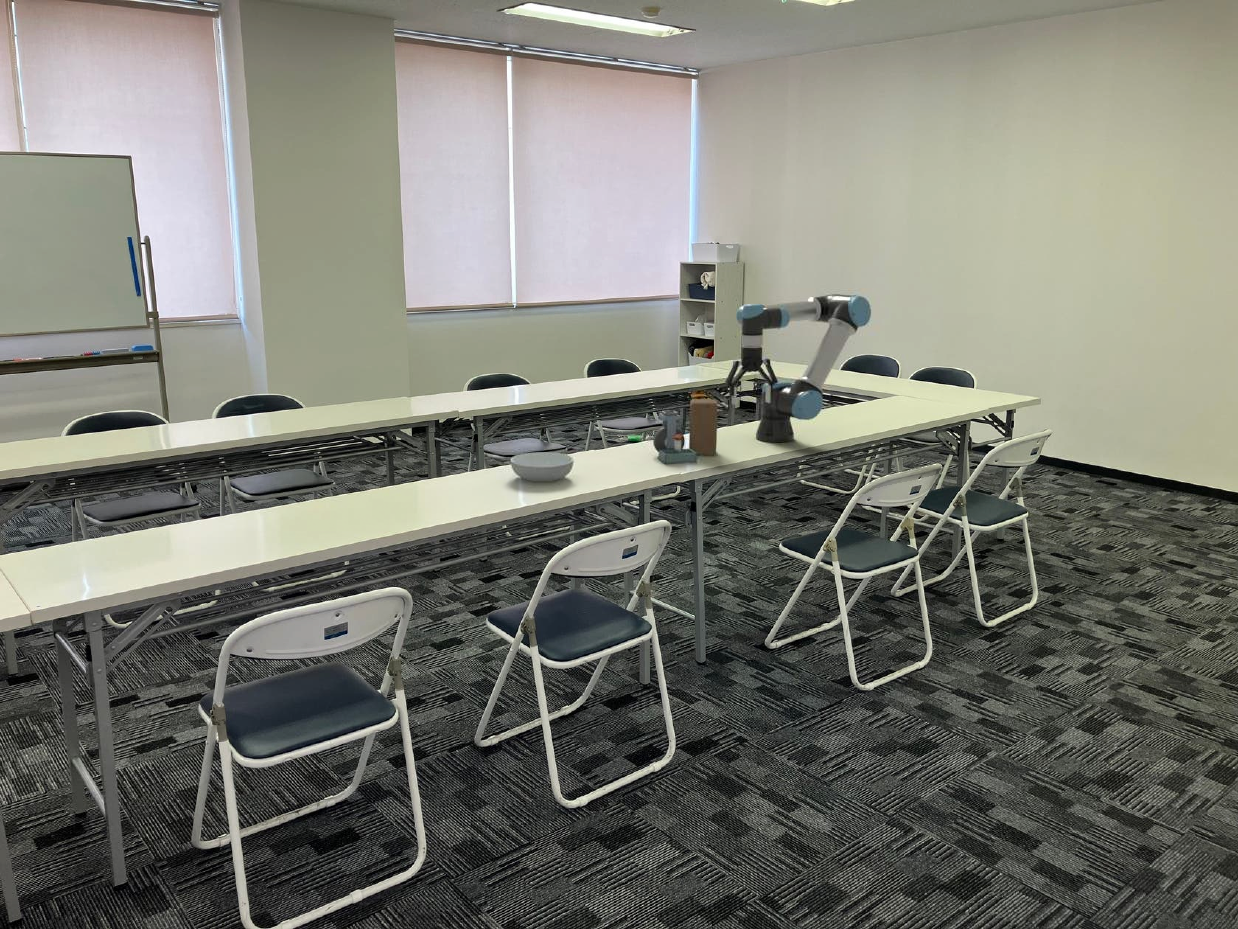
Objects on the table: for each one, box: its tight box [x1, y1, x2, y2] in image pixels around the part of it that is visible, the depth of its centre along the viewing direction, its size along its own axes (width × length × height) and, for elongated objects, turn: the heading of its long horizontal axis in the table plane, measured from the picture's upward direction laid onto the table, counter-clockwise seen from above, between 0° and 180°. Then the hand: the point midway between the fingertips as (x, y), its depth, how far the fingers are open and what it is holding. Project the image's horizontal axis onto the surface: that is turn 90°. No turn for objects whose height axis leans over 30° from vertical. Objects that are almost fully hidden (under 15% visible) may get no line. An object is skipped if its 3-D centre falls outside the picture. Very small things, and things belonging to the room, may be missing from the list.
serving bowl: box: [510, 451, 575, 483], centre depth 308 cm, size 21×21×7 cm
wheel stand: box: [652, 410, 686, 453], centre depth 341 cm, size 11×6×16 cm, turn 105°
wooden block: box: [688, 398, 719, 457], centre depth 345 cm, size 10×10×20 cm
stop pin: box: [673, 434, 684, 454], centre depth 334 cm, size 3×3×9 cm
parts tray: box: [658, 448, 698, 465], centre depth 335 cm, size 12×8×4 cm, turn 105°
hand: (750, 403), depth 347 cm, fingers open, 13 cm apart
